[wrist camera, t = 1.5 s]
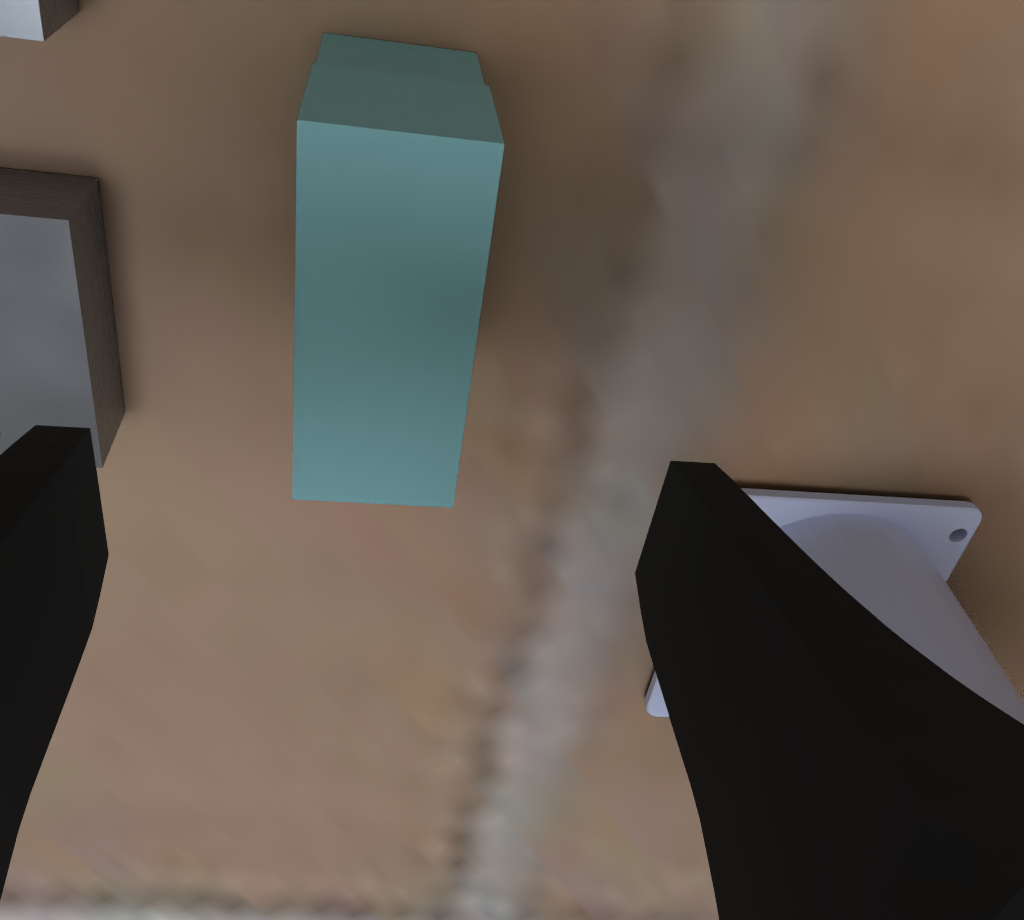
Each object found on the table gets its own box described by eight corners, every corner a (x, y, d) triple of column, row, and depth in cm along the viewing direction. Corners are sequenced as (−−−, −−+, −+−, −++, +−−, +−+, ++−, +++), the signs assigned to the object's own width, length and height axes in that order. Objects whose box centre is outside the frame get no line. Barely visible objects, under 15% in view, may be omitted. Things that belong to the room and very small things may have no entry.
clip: (442, 348, 23) (452, 507, 18) (315, 338, 22) (292, 499, 18) (478, 42, 19) (504, 143, 14) (323, 21, 18) (297, 119, 13)
